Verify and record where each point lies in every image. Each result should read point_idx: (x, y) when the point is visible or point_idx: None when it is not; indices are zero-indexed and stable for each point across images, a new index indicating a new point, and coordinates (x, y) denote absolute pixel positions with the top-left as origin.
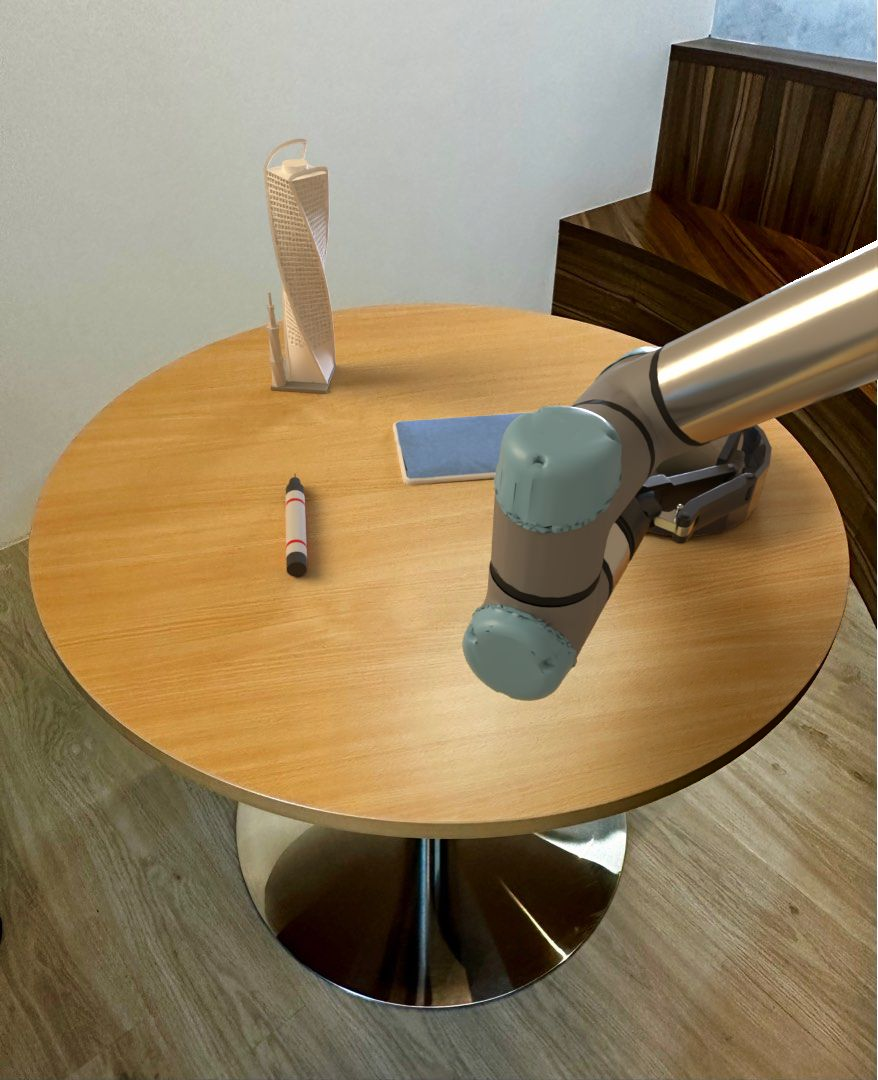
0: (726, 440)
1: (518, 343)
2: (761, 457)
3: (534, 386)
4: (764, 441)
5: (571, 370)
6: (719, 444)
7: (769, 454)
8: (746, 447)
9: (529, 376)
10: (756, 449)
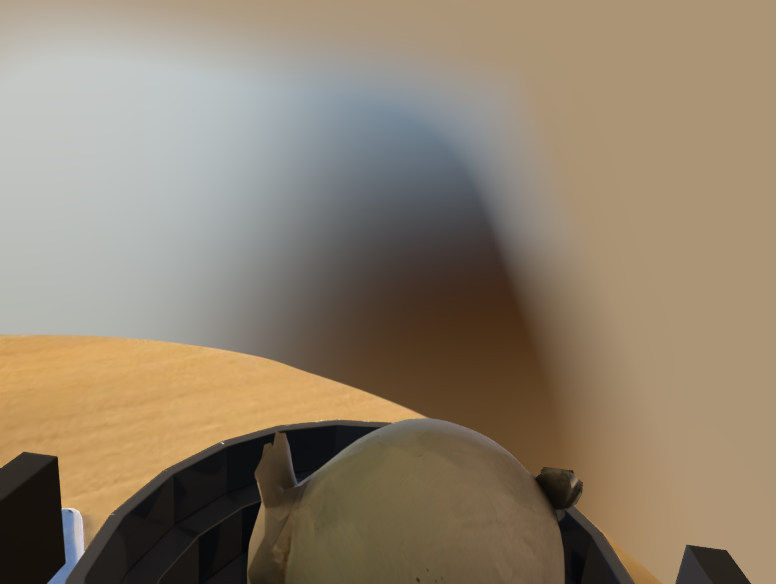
0: (540, 561)
1: (77, 377)
2: (580, 560)
3: (74, 449)
4: (576, 518)
5: (161, 410)
6: (527, 582)
7: (615, 559)
8: None
9: (72, 430)
10: None
